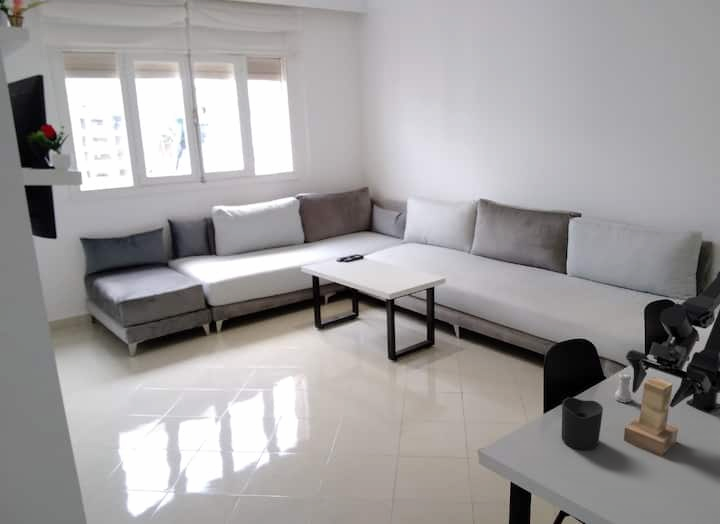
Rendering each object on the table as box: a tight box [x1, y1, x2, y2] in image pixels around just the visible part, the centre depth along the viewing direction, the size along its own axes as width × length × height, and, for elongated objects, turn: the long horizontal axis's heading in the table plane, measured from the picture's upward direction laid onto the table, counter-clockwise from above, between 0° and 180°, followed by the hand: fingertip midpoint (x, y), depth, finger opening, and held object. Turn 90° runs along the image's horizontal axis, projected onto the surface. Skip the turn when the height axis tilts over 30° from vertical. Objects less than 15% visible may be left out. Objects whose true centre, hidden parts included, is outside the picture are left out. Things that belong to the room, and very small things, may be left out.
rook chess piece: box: [614, 372, 632, 404], centre depth 157 cm, size 4×4×8 cm
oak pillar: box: [638, 376, 673, 435], centre depth 135 cm, size 4×4×12 cm
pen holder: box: [561, 396, 604, 451], centre depth 137 cm, size 9×9×10 cm
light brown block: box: [623, 415, 679, 457], centre depth 137 cm, size 9×9×4 cm
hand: (651, 399), depth 134 cm, fingers open, 9 cm apart
